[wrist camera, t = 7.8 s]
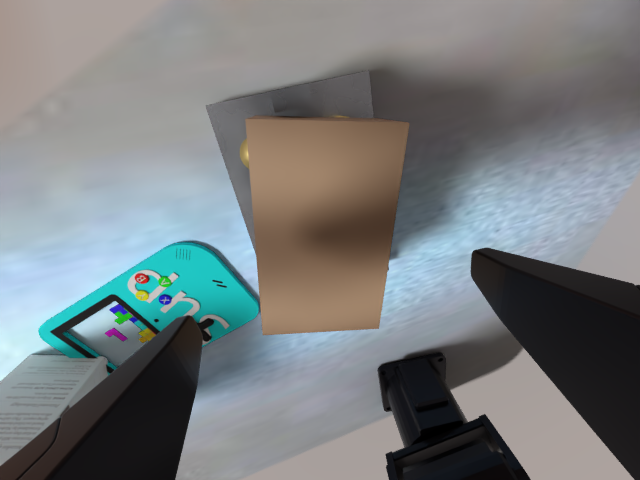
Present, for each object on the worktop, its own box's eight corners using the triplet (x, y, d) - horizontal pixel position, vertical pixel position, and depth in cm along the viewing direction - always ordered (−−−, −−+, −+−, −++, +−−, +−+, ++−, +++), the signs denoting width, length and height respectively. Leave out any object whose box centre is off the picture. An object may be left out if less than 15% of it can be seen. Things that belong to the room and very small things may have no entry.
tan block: (360, 284, 18) (378, 328, 15) (267, 288, 18) (262, 335, 14) (378, 118, 14) (409, 122, 11) (256, 115, 13) (245, 118, 10)
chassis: (383, 262, 22) (412, 308, 17) (271, 287, 22) (266, 341, 17) (363, 72, 16) (397, 57, 11) (210, 105, 16) (176, 105, 11)
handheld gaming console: (264, 315, 22) (119, 394, 24) (265, 307, 23) (125, 383, 25) (190, 233, 19) (28, 333, 21) (195, 227, 20) (39, 324, 22)
